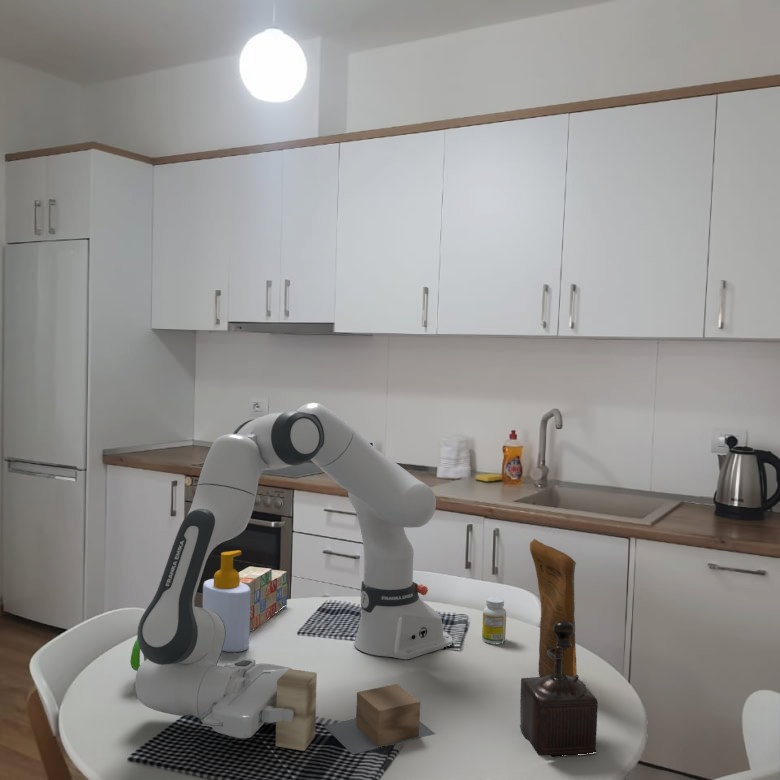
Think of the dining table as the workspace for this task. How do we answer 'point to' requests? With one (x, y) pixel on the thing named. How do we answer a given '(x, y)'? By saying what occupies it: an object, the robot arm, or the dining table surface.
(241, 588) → the soap bottle
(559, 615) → the pancake mix bag
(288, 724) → the oak column
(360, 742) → the mat
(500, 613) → the supplement bottle
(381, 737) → the walnut block
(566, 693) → the manual coffee grinder
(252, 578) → the stack of blocks
